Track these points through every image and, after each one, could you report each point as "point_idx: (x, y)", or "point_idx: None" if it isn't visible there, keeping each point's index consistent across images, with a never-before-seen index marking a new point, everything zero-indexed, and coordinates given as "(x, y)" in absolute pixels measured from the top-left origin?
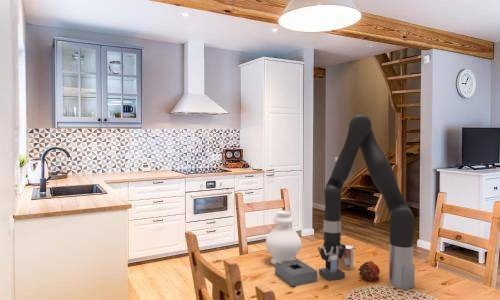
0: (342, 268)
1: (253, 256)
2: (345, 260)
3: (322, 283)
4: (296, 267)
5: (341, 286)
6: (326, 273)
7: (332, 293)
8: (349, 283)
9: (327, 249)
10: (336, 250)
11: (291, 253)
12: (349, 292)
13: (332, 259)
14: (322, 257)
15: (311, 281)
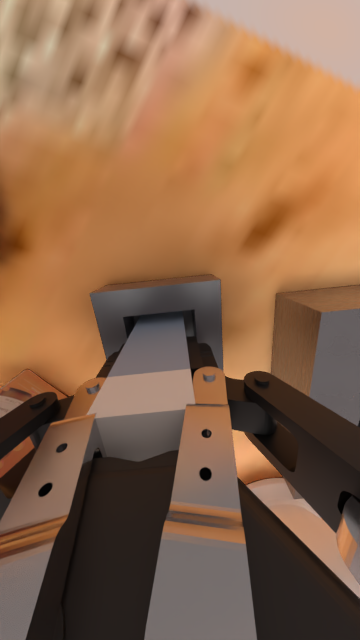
0: (60, 397)
1: None
2: None
3: (257, 272)
4: None
5: (177, 193)
6: (221, 315)
7: (295, 102)
8: (105, 219)
9: (310, 558)
10: (63, 497)
11: (316, 552)
12: (177, 69)
13: (172, 373)
14: (277, 424)
15: (320, 292)
